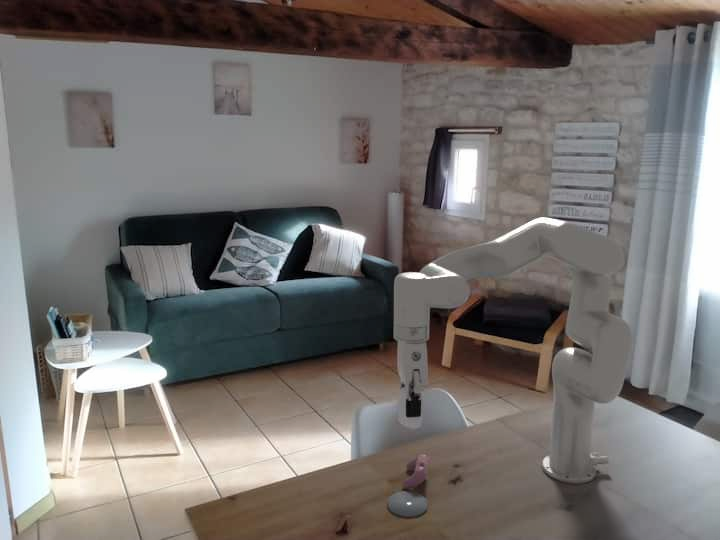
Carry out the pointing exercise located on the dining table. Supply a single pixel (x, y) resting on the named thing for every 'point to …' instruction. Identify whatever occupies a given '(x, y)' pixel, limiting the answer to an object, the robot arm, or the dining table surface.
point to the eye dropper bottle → (407, 422)
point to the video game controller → (416, 471)
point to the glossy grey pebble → (407, 504)
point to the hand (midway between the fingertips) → (410, 409)
